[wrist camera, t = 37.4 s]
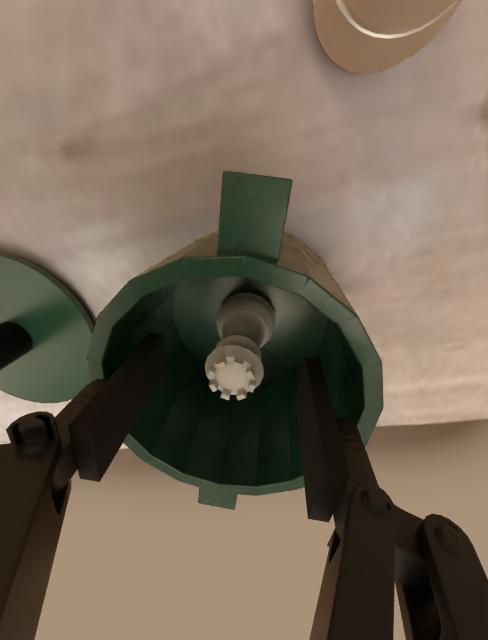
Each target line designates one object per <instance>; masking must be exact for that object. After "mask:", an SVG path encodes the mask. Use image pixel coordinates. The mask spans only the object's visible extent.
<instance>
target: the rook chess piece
mask: <svg viewBox="0 0 488 640" xmlns="http://www.w3.org/2000/svg"><path fill="white" fill-rule="evenodd" d="M216 323H217V330H218V334H219V336H220V337H221V341H220V342H219V343H218V344H217V345H216V349H215V350H214V351H213V352H212V353H211V354H210V355H209V356H208V357H207V360H206V363H205V371H206V376H207V378H208V379H209V380H210V383H209V387H210V388H211V390H212V391H213V392H215V391H216V390H217V389H219V390H220V391H221V392H222V393H221V397H220V398H223V399H226V400H229V398H230V395H237V399H238V400H241V399H244V398H246V396H247V392H249V391H250V392H253V390H254V389H255V388H256V387H257V386H258V385H259V384H260V383H261V380H262V378H263V376H264V373H263V365H262V363H261V352H260V350H259V348H262V347H263V346H264V345H265V344H266V343H267V342H268V341H269V340H270V338H271V336H272V334H273V331H274V326H275V313H274V311H273V309H272V307H271V305H270V304H269V303H268V302H267V301H266V300H265V299H263V298H262V297H261V296H258V295H255V294H252V293H237V294H235V295H233V296H231V297H228V298H227V299H226V300H225V301H224V303H223V304H222V305H221V306H220V309H219V313H218V316H217V320H216Z"/></svg>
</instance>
